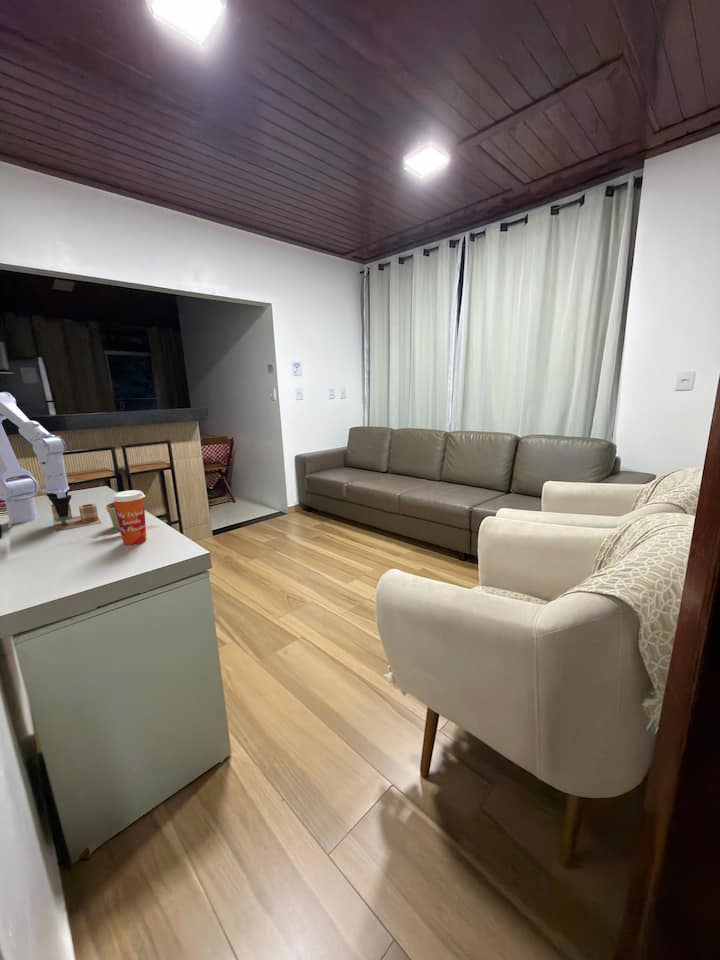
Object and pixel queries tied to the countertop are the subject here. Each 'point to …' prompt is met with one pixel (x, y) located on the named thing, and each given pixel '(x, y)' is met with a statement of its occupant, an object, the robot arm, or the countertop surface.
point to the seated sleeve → (88, 512)
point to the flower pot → (113, 514)
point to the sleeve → (58, 519)
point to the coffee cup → (131, 516)
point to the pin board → (73, 523)
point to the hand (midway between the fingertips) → (62, 514)
